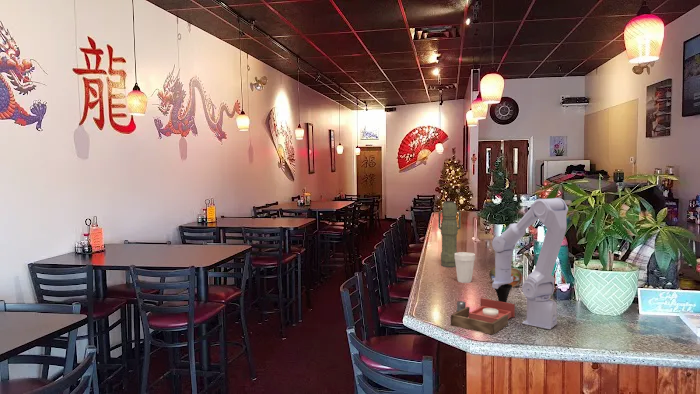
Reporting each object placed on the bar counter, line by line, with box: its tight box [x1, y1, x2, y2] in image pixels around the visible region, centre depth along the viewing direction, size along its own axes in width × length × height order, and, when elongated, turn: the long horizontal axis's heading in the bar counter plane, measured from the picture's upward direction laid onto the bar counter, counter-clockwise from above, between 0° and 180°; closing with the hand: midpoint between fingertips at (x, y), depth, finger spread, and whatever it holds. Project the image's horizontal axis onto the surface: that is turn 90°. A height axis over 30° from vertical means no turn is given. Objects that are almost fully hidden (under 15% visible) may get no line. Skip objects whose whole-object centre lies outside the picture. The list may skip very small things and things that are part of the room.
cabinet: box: [450, 306, 509, 335], centre depth 166 cm, size 15×12×4 cm
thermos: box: [437, 201, 462, 268], centre depth 263 cm, size 9×12×35 cm
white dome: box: [483, 308, 498, 318], centre depth 173 cm, size 5×5×2 cm
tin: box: [488, 266, 523, 288], centre depth 221 cm, size 15×3×8 cm, turn 45°
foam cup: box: [455, 251, 476, 284], centre depth 228 cm, size 10×9×13 cm
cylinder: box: [456, 300, 467, 312], centre depth 182 cm, size 3×3×4 cm
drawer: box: [468, 297, 516, 323], centre depth 173 cm, size 13×12×5 cm
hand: (502, 303), depth 181 cm, fingers closed
